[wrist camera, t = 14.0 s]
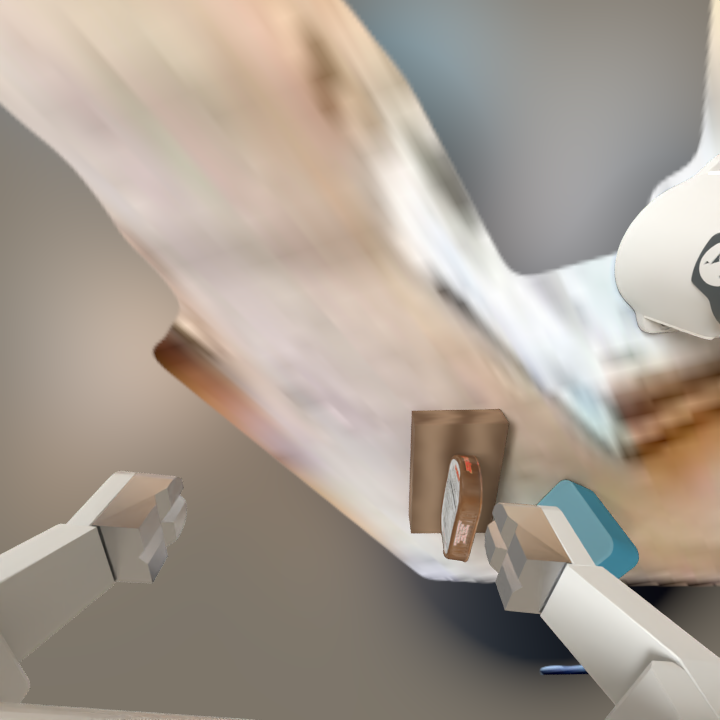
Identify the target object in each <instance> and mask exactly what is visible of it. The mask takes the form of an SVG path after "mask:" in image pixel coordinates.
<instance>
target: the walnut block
mask: <svg viewBox="0 0 720 720" xmlns="http://www.w3.org/2000/svg"><path fill="white" fill-rule="evenodd" d="M508 427H509V423H508V421H507V419H506V418H505V416H504V415H503V413H502V411H501V410H500V409H486V410H435V411H412V423H411V457H410V490H409V521H410V529H411V533H441V529H440V516H441V505H442V499H443V493H444V488H445V483H446V478H447V474H448V469H449V464H450V461H451V458H452V457H453V456H454V455H470V456H471V455H475V456H476V457H477V459H478V461H479V464H480V468H481V474H482V483H483V500H482V510H481V515H480V519H479V522H478V526H477V529H476V533H486V530H487V526H488V525H489V524H490V523H492V520H493V514H492V512H493V509H494V506H495V502H496V497H497V491H498V485H499V479H500V473H501V468H502V462H503V456H504V450H505V444H506V439H507V433H508Z"/></svg>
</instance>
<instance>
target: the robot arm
mask: <svg viewBox="0 0 720 720" xmlns="http://www.w3.org/2000/svg"><path fill="white" fill-rule="evenodd" d="M615 279H616V284H617V287H618V289H619V292H620V294H621V295H622V297H623V298H624V299H625V301H626V302H627V303H628V304H629V305H630V306H631V307H632V308H633V309H634V311H635V313H636V318H637V322H638V325H639V328H640V329H641V330H642V331H645V332H648V333H664V332H675V331H683V332H686V333H688V334H691V335H694V336H697V337H700V338H703V339H707V340H713V339H714V338H720V154H719V155H717V156H716V157H714V158H713V159H712V160H711V161H710V162H708V163H707V164H706V165H705V166H704V167H703V168H702V169H701V170H700V171H699V172H698V173H697V174H696V175H694V176H693V177H691V178H690V179H688V180H686V181H684V182H682V183H680V184H678V185H676V186H674V187H672V188H671V189H669V190H667V191H665V192H664V193H662V194H661V195H659V196H658V197H657V198H655V199H654V200H653V201H652V202H651V203H649V204H648V205H647V206H646V207H645V208H644V209H643V210H642V211H641V212H640V213H639V215H638V216H637V217H636V218H635V219H634V221H633V222H632V224H631V225H630V227H629V228H628V230H627V231H626V233H625V235H624V237H623V239H622V241H621V244H620V246H619V249H618V252H617V256H616V262H615ZM183 488H184V487H183V482H182V478H180V477H177V476H167V475H158V474H148V473H135V472H127V471H118V472H116V473H114V474H112V475H111V476H110V478H109V479H108V480H107V481H106V482H105V483H104V484H103V485H102V486H101V487H100V488H99V489H98V490H97V491H96V493H95V494H94V495H93V496H92V497H91V498H90V499H89V500H88V501H87V502H86V503H85V504H84V505H83V506H82V508H81V509H80V510H79V511H78V512H77V513H76V514H75V515H74V516H73V517H72V518H71V519H70V520H69V522H68V523H67V524H58V525H56V526H54V527H52V528H51V529H49V530H47V531H45V532H43V533H41V534H39V535H37V536H35V537H33V538H31V539H29V540H28V541H26V542H24V543H22V544H20V545H18V546H16V547H14V548H12V549H10V550H8V551H6V552H4V553H3V554H1V555H0V720H250V719H236V718H222V717H208V716H193V715H178V714H165V713H164V714H163V713H150V712H136V711H121V710H107V709H92V708H78V707H63V706H49V705H34V704H20V703H21V701H22V700H23V698H24V697H25V695H26V693H27V692H28V691H29V689H30V681H29V679H28V677H27V675H26V674H25V672H24V671H23V669H22V667H21V666H20V664H19V663H20V662H21V661H22V660H23V659H25V658H26V657H27V656H28V655H30V654H31V653H32V652H33V651H34V650H36V649H37V648H38V647H39V646H40V645H42V644H43V643H44V642H45V641H46V640H48V639H49V638H50V637H51V636H53V635H54V634H55V633H56V632H57V631H59V630H60V629H61V628H62V627H63V626H64V625H66V624H67V623H68V622H69V621H71V620H72V619H73V618H74V617H76V616H77V615H78V614H79V613H80V612H82V611H83V610H84V609H85V608H86V607H88V606H89V605H90V604H91V603H92V602H94V601H95V600H96V599H97V598H98V597H100V596H101V595H102V594H103V593H105V592H106V591H107V590H108V589H109V588H111V587H112V586H113V585H114V584H115V582H135V583H153V582H154V580H155V578H156V576H157V575H158V573H159V571H160V569H161V567H162V566H163V564H164V562H165V560H166V558H167V557H168V556H167V550H166V547H167V546H169V545H170V544H172V543H173V542H175V541H176V540H177V539H178V537H179V535H180V533H181V531H182V530H183V527H184V523H185V520H186V515H187V504H186V501H185V499H184V498H183V497H182V496H181V495H180V493H181V492H182V490H183ZM492 514H493V517H494V519H495V520H494V521H493V522H492V523H490V524H489V525H488V526H487V530H486V533H485V549H486V555H487V558H488V561H489V564H490V565H491V566H492V567H493V568H494V569H495V570H496V571H497V572H498V573H499V574H498V576H497V579H496V585H497V588H498V591H499V594H500V597H501V600H502V602H503V605H504V609H505V610H508V611H518V612H528V613H536V614H541V617H542V619H543V620H544V621H545V622H546V623H547V624H548V626H549V627H550V628H551V629H552V630H553V631H554V633H555V634H556V635H557V636H558V638H559V639H560V640H561V641H562V642H563V643H564V645H565V646H566V647H567V648H568V649H569V651H570V652H571V653H572V654H573V655H574V656H575V658H576V659H577V660H578V661H579V662H580V664H581V665H582V666H583V667H584V668H585V670H586V671H587V672H588V673H589V674H590V675H591V677H592V678H593V679H594V680H595V681H596V683H597V684H598V685H599V686H600V687H601V688H602V690H603V691H604V692H605V693H606V695H607V696H608V697H609V698H610V699H611V700H612V701H613V703H614V704H615V705H616V706H615V707H614V709H613V710H612V711H611V712H610V714H609V715H608V716H607V717H606V719H605V720H720V658H719V657H717V656H716V655H715V654H713V653H712V652H711V651H710V650H708V649H707V648H706V647H704V646H703V645H702V644H700V643H699V642H698V641H697V640H695V639H694V638H693V637H692V636H691V635H689V634H688V633H686V632H685V631H684V630H683V629H682V628H680V627H679V626H678V625H676V624H675V623H674V622H672V621H671V620H670V619H669V618H667V617H666V616H665V615H664V614H662V613H661V612H659V610H657V609H656V608H654V607H653V606H652V605H651V604H649V603H648V602H647V601H646V600H644V599H643V598H642V597H641V596H639V595H638V594H637V593H635V592H634V591H633V590H631V589H630V588H629V587H628V586H627V585H625V584H624V583H623V582H621V581H620V580H619V579H618V578H616V577H615V576H614V575H612V574H611V573H610V572H609V571H607V570H606V569H605V568H603V567H601V566H596V565H595V563H594V562H593V560H592V559H591V557H590V555H589V554H588V552H587V551H586V549H585V548H584V546H583V544H582V543H581V541H580V540H579V538H578V536H577V535H576V533H575V532H574V530H573V528H572V527H571V525H570V524H569V522H568V520H567V519H566V517H565V516H564V514H563V512H562V511H561V510H560V509H559V508H558V507H555V506H541V505H536V506H535V505H528V504H514V503H499V502H498V503H497V504H496V505H495V506H494V509H493V512H492Z"/></svg>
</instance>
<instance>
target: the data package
mask: <svg viewBox="0 0 720 720" xmlns="http://www.w3.org/2000/svg"><path fill="white" fill-rule="evenodd" d="M537 505H541V506H555V507H558V508H559V509H560V510H561V511H562V512H563V514H564V516H565V517H566V519H567V520H568V522H569V524H570V525H571V527H572V528H573V530H574V532H575V533H576V535H577V536H578V538H579V540H580V541H581V543H582V544H583V546H584V548H585V549H586V551H587V552H588V554H589V555H590V557H591V559H592V560H593V562H594V563H595V565H596V566H601V567H603V568H605V569H606V570H607V571H609V572H610V573H611V574H612V575H614V576H615V577H616V578H618V579H619V578H620V577H622V576H623V575H624V574H626V573H627V572H628V571H629V570H631V569H632V568H633V567H635V566H636V564H637V563H638V560H639V554H638V551H637V548H636V547H635V545H634V544H633V543H632V542H631V540H630V539H629V538H628V536H627V535H626V534H625V532H624V531H623V530H622V528H621V527H620V526H619V525H618V523H617V522H616V521H615V519H614V518H613V517H612V515H611V514H610V513H609V511H608V510H607V509H606V508H605V506H604V505H603V504H602V502H601V501H600V500H599V498H598V497H597V496H596V494H595V493H594V492H593V491H591V490H589V489H587V488H585V487H583V486H580V485H578V484H576V483H574V482H571V481H569V480H562V481H560V482H559V483H558V484H557V485H556V486H555V487H554V488H553V489H552V490H551V491H550V492H549V493H548V494H547V495H546V496H545V497H544V498H543V499H542V500H541V501H540V502H539V503H538V504H537Z"/></svg>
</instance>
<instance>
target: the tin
mask: <svg viewBox="0 0 720 720" xmlns="http://www.w3.org/2000/svg"><path fill="white" fill-rule="evenodd" d="M482 500H483V483H482V474H481V468H480V464H479V461H478V459H477V457H476V456H475V455H471V456H470V455H454V456H453V457H452V458H451V461H450V464H449V469H448V474H447V478H446V483H445V488H444V493H443V499H442V505H441V516H440V529H441V535H442V541H443V549H444V550H443V554H444V556H445V557H446V558H447V559H452V560H460V561H463V562H467V560H468V558H469V555H470V552H471V548H472V544H473V541H474V537H475V533H476V529H477V526H478V522H479V519H480V515H481V510H482Z"/></svg>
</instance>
